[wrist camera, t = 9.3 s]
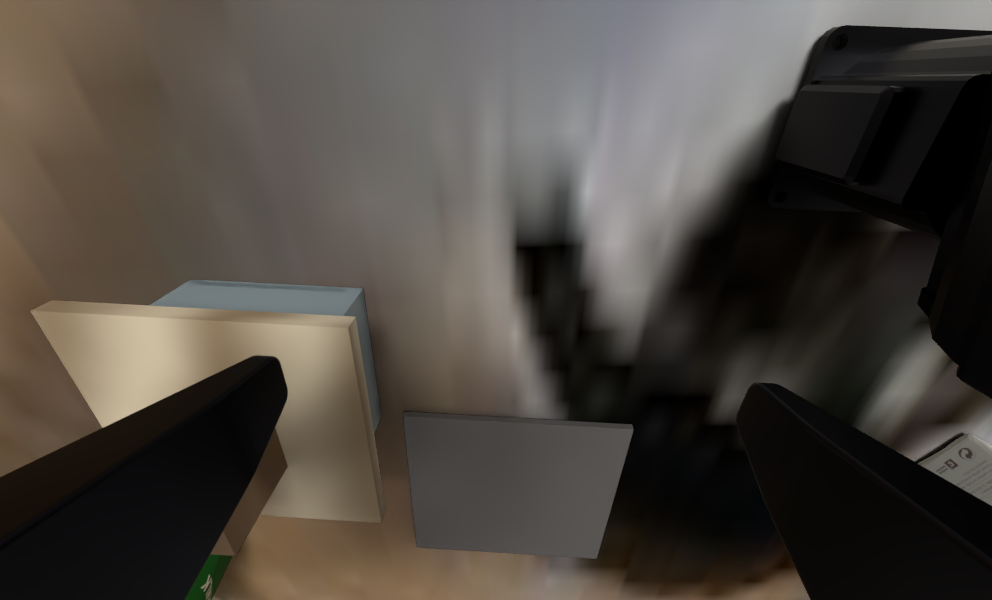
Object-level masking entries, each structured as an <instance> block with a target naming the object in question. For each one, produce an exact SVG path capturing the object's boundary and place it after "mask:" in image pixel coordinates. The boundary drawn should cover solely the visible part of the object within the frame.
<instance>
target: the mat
mask: <svg viewBox="0 0 992 600" xmlns="http://www.w3.org/2000/svg"><path fill="white" fill-rule="evenodd" d="M403 421H404V431H405V440H406V450H407V459H408V468H409V478H410V487H411V497H412V506H413V516H414V525H415V535H416V544H417V547H419V548H435V549H450V550H466V551H482V552H498V553H514V554H530V555H546V556H562V557H577V558H593V559H597V556H598V552H599V549H600V545H601V542H602V538H603V535H604V531H605V528H606V524H607V521H608V517H609V514H610V510H611V507H612V503H613V500H614V496H615V493H616V489H617V486H618V482H619V479H620V475H621V472H622V468H623V465H624V461H625V458H626V454H627V451H628V447H629V444H630V440H631V437H632V433H633V430H634V429H633V426H632V424H615V423H598V422H580V421H563V420H545V419H527V418H510V417H492V416H475V415H457V414H439V413H422V412H404V415H403Z"/></svg>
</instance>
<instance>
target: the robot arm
mask: <svg viewBox="0 0 992 600" xmlns="http://www.w3.org/2000/svg"><path fill="white" fill-rule="evenodd" d="M837 36H839V38H840V44H839V45H838V47H837V48H836V49H835V50H834V49H833V47H832V45H833V41H834V39H835V38H836V37H837ZM775 159H776V161H775V164H774V167H773V170H772V172H771V175H770V178H769V181H768V183H767V186H766V189H765V192H764V195H763V200H764V202H765V203H766V204H767V205H768V206H771V207H773V208H778V209H799V210H821V211H842V212H864V213H868V214H870V215H873V216H876V217H878V218H881V219H884V220H886V221H889V222H892V223H894V224H897V225H900V226H902V227H905V228H908V229H910V230H913V231H916V232H918V233H921V234H924V235H926V236H929V237H932V238H934V239H937V240H939V241H940V245H939V248H938V251H937V254H936V258H935V261H934V264H933V268H932V271H931V274H930V278H929V281H928V284H927V287H924V288H922V289H921V292H920V296H919V299H918V302H917V303H918V306H919V307H920V308H921V309H922V310H923V312H924V313H925V314H926V315H927V316H928V318H929V323H930V329H931V334H932V339H933V340H934V341H935V342H936V343H937V344H938V345H939V346H940V347H941V348H942V350H943V351H944V352H945V353H946V354H947V355H948V356H949V357H950V358H951V359H952V360H953V361H954V362H955V363H956V364H958V365H959V367H958V369H957V372H956V373H957V377H958V378H959V379H960V380H962V381H963V382H964V383H966V384H967V385H969V386H970V387H972V388H974V389H975V390H977V391H979V392H980V393H982V394H984V395H985V396H987V397H989V398H990V399H992V31H979V30H953V29H928V28H902V27H876V26H850V25H846V26H840V27H834V28H832V29H830V30H828V31H827V32H826V33H825V34H824V35H823V36H822V37H821V39H820V41H819V43H818V46H817V48H816V51H815V54H814V57H813V59H812V62H811V65H810V68H809V70H808V73H807V76H806V79H805V81H804V84H803V87H802V89H801V90H800V91H799V92H798V93H797V96H796V99H795V102H794V104H793V107H792V110H791V113H790V116H789V118H788V121H787V124H786V127H785V129H784V132H783V135H782V138H781V141H780V143H779V146H778V149H777V152H776V154H775ZM779 191H782V195H781V196H780V198H778V199H777V200H774V198H775V195H776V194H777V193H778V192H779ZM287 397H288V388H287V384H286V381H285V377H284V374H283V370H282V367H281V363H280V361H279V360H278V358H276V357H274V356H262V355H255V356H251V357H249V358H247V359H245V360H243V361H241V362H239V363H237V364H235V365H232V366H230V367H228V368H226V369H224V370H222V371H220V372H218V373H216V374H214V375H212V376H210V377H208V378H205V379H203V380H201V381H199V382H197V383H195V384H193V385H191V386H189V387H187V388H185V389H183V390H181V391H178V392H176V393H174V394H172V395H170V396H168V397H166V398H164V399H162V400H160V401H158V402H156V403H153V404H151V405H149V406H147V407H145V408H143V409H141V410H139V411H137V412H135V413H133V414H131V415H129V416H126V417H124V418H122V419H120V420H118V421H116V422H114V423H112V424H110V425H108V426H106V427H104V428H102V429H99V430H97V431H95V432H93V433H91V434H89V435H87V436H85V437H83V438H81V439H79V440H77V441H74V442H72V443H70V444H68V445H66V446H64V447H62V448H60V449H58V450H56V451H54V452H52V453H50V454H47V455H45V456H43V457H41V458H39V459H37V460H35V461H33V462H31V463H29V464H27V465H25V466H22V467H20V468H18V469H16V470H14V471H12V472H10V473H8V474H6V475H4V476H2V477H0V600H185V599H186V597H187V595H188V594H189V592H190V590H191V588H192V586H193V585H194V583H195V581H196V579H197V577H198V576H199V574H200V572H201V570H202V568H203V567H204V565H205V563H206V561H207V559H208V558H209V556H210V554H211V552H212V550H213V549H214V547H215V545H216V543H217V541H218V540H219V538H220V536H221V534H222V533H223V531H224V529H225V527H226V525H227V524H228V522H229V520H230V518H231V516H232V515H233V513H234V511H235V509H236V507H237V506H238V504H239V502H240V500H241V498H242V497H243V495H244V493H245V491H246V489H247V488H248V486H249V484H250V482H251V480H252V478H253V476H254V474H255V472H256V470H257V468H258V466H259V464H260V462H261V459H262V457H263V455H264V452H265V450H266V448H267V445H268V443H269V441H270V438H271V436H272V434H273V431H274V429H275V427H276V424H277V422H278V420H279V417H280V415H281V413H282V411H283V408H284V406H285V404H286V401H287ZM736 423H737V428H738V431H739V434H740V436H741V439H742V442H743V445H744V447H745V450H746V453H747V456H748V458H749V461H750V464H751V467H752V469H753V472H754V475H755V478H756V480H757V483H758V486H759V489H760V491H761V494H762V497H763V499H764V502H765V504H766V506H767V509H768V511H769V513H770V515H771V518H772V520H773V522H774V524H775V526H776V528H777V530H778V532H779V534H780V537H781V539H782V541H783V543H784V545H785V547H786V549H787V551H788V553H789V555H790V557H791V560H792V562H793V564H794V566H795V568H796V570H797V572H798V574H799V576H800V578H801V581H802V583H803V585H804V587H805V589H806V591H807V593H808V595H809V597H810V599H811V600H992V506H991V505H989V504H988V503H986V502H984V501H982V500H981V499H979V498H977V497H975V496H973V495H972V494H970V493H968V492H966V491H965V490H963V489H961V488H959V487H958V486H956V485H954V484H952V483H951V482H949V481H947V480H945V479H944V478H942V477H940V476H938V475H937V474H935V473H933V472H931V471H930V470H928V469H926V468H924V467H923V466H921V465H919V464H917V463H916V462H914V461H912V460H910V459H909V458H907V457H905V456H903V455H902V454H900V453H898V452H896V451H895V450H893V449H891V448H889V447H888V446H886V445H884V444H882V443H881V442H879V441H877V440H875V439H873V438H872V437H870V436H868V435H866V434H865V433H863V432H861V431H859V430H858V429H856V428H854V427H852V426H851V425H849V424H847V423H845V422H844V421H842V420H840V419H838V418H837V417H835V416H833V415H831V414H830V413H828V412H826V411H824V410H823V409H821V408H819V407H817V406H816V405H814V404H812V403H810V402H809V401H807V400H805V399H803V398H802V397H800V396H798V395H796V394H795V393H793V392H791V391H789V390H788V389H786V388H784V387H782V386H780V385H778V384H773V383H754V384H752V385H751V386H750V387H749V389H748V391H747V393H746V395H745V397H744V400H743V402H742V404H741V406H740V408H739V411H738V413H737V418H736Z"/></svg>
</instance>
